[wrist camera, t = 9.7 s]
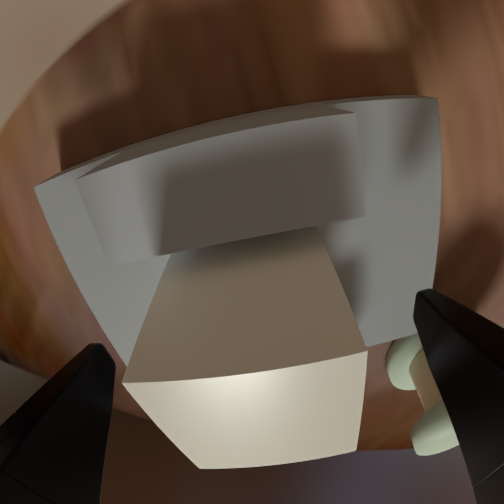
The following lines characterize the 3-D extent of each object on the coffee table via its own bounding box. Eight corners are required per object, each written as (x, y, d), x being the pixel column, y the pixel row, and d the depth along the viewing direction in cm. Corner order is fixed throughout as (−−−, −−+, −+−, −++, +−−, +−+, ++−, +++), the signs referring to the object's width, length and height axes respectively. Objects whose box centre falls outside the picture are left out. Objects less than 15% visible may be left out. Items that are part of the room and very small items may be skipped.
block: (305, 204, 9) (367, 351, 4) (319, 304, 11) (356, 450, 6) (181, 229, 10) (121, 382, 5) (215, 322, 12) (199, 468, 6)
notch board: (409, 94, 9) (498, 109, 5) (408, 304, 14) (450, 379, 10) (60, 171, 11) (-19, 222, 6) (144, 349, 15) (120, 427, 11)
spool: (478, 297, 14) (531, 370, 9) (456, 363, 17) (490, 429, 12) (389, 323, 15) (431, 418, 9) (380, 387, 18) (404, 465, 12)
